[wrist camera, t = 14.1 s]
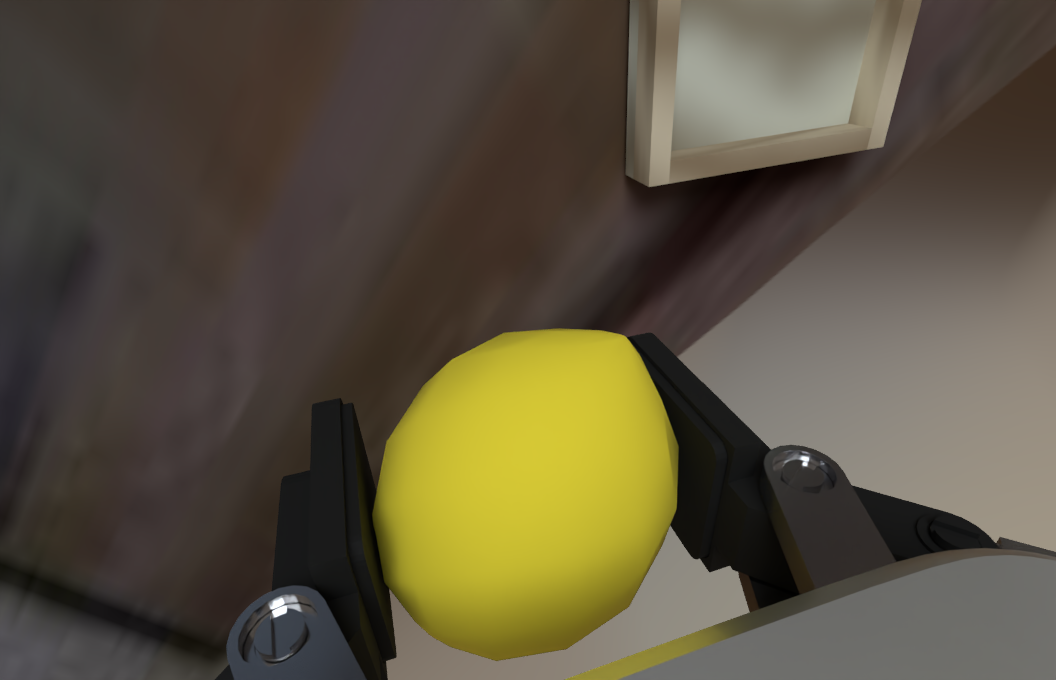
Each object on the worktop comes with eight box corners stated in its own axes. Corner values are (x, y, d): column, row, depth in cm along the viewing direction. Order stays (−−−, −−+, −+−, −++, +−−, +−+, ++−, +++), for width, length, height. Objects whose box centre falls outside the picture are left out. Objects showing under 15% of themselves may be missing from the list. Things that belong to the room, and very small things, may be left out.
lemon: (461, 230, 11) (593, 329, 6) (639, 339, 14) (818, 460, 9) (294, 511, 12) (305, 771, 7) (493, 559, 15) (589, 768, 10)
